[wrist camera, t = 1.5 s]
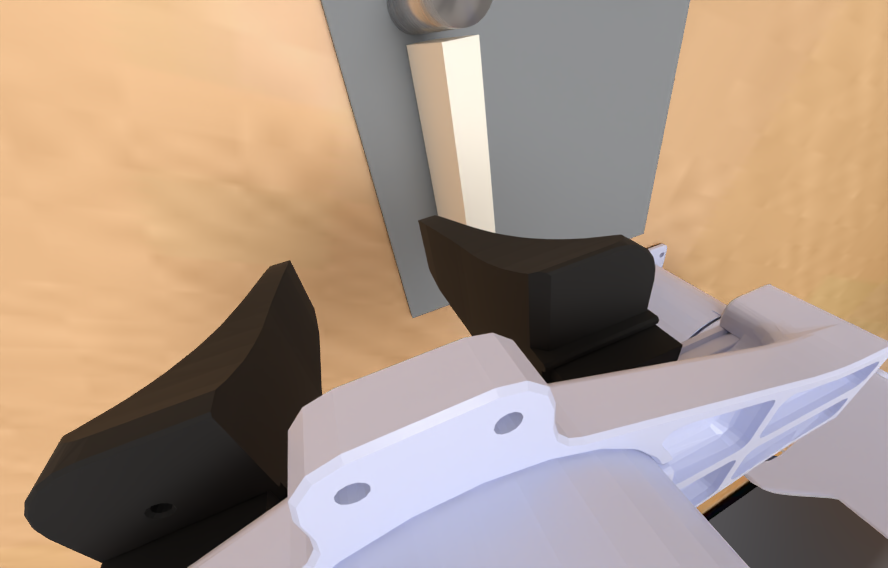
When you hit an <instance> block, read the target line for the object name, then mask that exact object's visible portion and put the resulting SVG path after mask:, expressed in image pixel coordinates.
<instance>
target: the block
mask: <svg viewBox="0 0 888 568" xmlns="http://www.w3.org/2000/svg"><path fill="white" fill-rule="evenodd" d="M406 46H407V51H408V57H409V62H410V67H411V73H412V78H413V84H414V89H415V94H416V100H417V105H418V110H419V116H420V121H421V127H422V132H423V137H424V143H425V148H426V153H427V159H428V164H429V169H430V175H431V180H432V186H433V191H434V196H435V202H436V207H437V212H438V216H441V217H444V218H447V219H450V220H453V221H456V222H459V223H462V224H465V225H468V226H471V227H474V228H478V229H481V230H485V231H489V232H493V233H495V221H494V209H493V197H492V185H491V173H490V161H489V149H488V136H487V124H486V112H485V100H484V88H483V76H482V64H481V52H480V40H479V35H470V36H460V37H450V38H440V39H433V40H428V41H423V42H418V43H414V44H409V45H406Z"/></svg>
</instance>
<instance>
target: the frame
mask: <svg viewBox="0 0 888 568" xmlns="http://www.w3.org/2000/svg"><path fill="white" fill-rule="evenodd" d="M492 1H493V0H387V8H388V12H389V15H390V17H391V19H392V21H393V23H394V24H395V25H396V27H397V28H398V29H399V30H401V31H402V32H404V33H406V34H409V35H419V34H426V33H433V32H440V31H446V30H453V29H460V28H467V27H470V26H473V25H475V24H476V23H478V22H479V21H480V20H481V19H482V18H483V17H484V16H485V15H486V13H487V12H488V10H489V8H490V6H491V3H492Z"/></svg>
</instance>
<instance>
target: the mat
mask: <svg viewBox="0 0 888 568" xmlns="http://www.w3.org/2000/svg"><path fill="white" fill-rule="evenodd" d="M321 3H322V7H323V10H324V14H325V17H326V20H327V24H328V27H329V31H330V34H331V38H332V41H333V45H334V48H335V52H336V55H337V59H338V62H339V66H340V69H341V73H342V76H343V79H344V83H345V86H346V90H347V93H348V97H349V100H350V104H351V107H352V111H353V114H354V118H355V121H356V125H357V128H358V132H359V135H360V138H361V142H362V145H363V149H364V152H365V156H366V159H367V163H368V166H369V170H370V173H371V177H372V180H373V184H374V187H375V190H376V194H377V197H378V201H379V204H380V208H381V211H382V215H383V218H384V222H385V225H386V229H387V232H388V236H389V239H390V243H391V246H392V249H393V253H394V256H395V260H396V263H397V267H398V270H399V274H400V277H401V281H402V284H403V288H404V291H405V295H406V298H407V302H408V305H409V308H410V312H411V315H412V317H413V318H415V317H417V316H420V315H423V314H425V313H428V312H431V311H434V310H436V309H439V308H442V307H445V306H447V305H450V304H449V303H448V301H447V300H446V298H445V297H444V296H443V294H442V293H441V291H440V290H439V288H438V286H437V284H436V282H435V280H434V278H433V276H432V274H431V272H430V270H429V267H428V262H427V258H426V253H425V249H424V245H423V240H422V236H421V231H420V227H419V222H418V220H421V219H424V218H427V217H431V216H434V215H436V216H438V212H437V207H436V202H435V196H434V191H433V186H432V180H431V175H430V169H429V164H428V159H427V153H426V148H425V143H424V137H423V132H422V127H421V121H420V116H419V110H418V105H417V100H416V94H415V89H414V84H413V78H412V73H411V67H410V62H409V57H408V51H407V46H406V45H409V44H414V43H418V42H423V41H428V40H433V39H440V38H450V37H460V36H470V35H479V40H480V52H481V64H482V76H483V88H484V100H485V112H486V124H487V136H488V149H489V161H490V173H491V185H492V197H493V209H494V221H495V233H498V234H503V235H509V236H516V237H524V238H537V239H580V238H592V237H601V236H610V235H620V234H621V235H623V236H625V237H627V238H629V239H630V238H633V237H636V236H638V235H641V234H644V229H645V224H646V219H647V214H648V209H649V204H650V199H651V194H652V189H653V184H654V179H655V174H656V169H657V164H658V159H659V154H660V149H661V144H662V139H663V134H664V129H665V124H666V119H667V114H668V109H669V104H670V99H671V94H672V89H673V83H674V78H675V73H676V68H677V63H678V58H679V53H680V48H681V43H682V38H683V33H684V28H685V23H686V18H687V13H688V8H689V3H690V0H493V1H492V3H491V6H490V8H489V10H488V12H487V13H486V15H485V16H484V17H483V18H482V19H481V20H480V21H479V22H478V23H476V24H475V25H473V26H470V27H467V28H460V29H453V30H446V31H440V32H433V33H426V34H419V35H409V34H406V33H404V32H402V31H401V30H399V29H398V28H397V27H396V25H395V24H394V23H393V21H392V19H391V17H390V15H389V12H388V8H387V0H321Z"/></svg>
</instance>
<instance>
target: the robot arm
mask: <svg viewBox="0 0 888 568" xmlns="http://www.w3.org/2000/svg"><path fill="white" fill-rule="evenodd" d="M418 222H419V227H420V231H421V236H422V240H423V245H424V249H425V253H426V258H427V262H428V267H429V270H430V272H431V274H432V276H433V278H434V280H435V282H436V284H437V286H438V288H439V290H440V291H441V293H442V294H443V296H444V297H445V298H446V300H447V301H448V303H449V304H450V306H451V307H452V308H453V310H454V311H455V312H456V314H457V315H458V317H459V318H460V319H461V321H462V322H463V324H464V325H465V326H466V328H467V329H468V331H469V332H470V334H471V335H472V336H471V337H465V338H462V339H459V340H457V341H454V342H452V343H449V344H446V345H444V346H441V347H439V348H436V349H434V350H431V351H428V352H426V353H423V354H421V355H418V356H416V357H413V358H410V359H408V360H405V361H403V362H400V363H398V364H395V365H392V366H390V367H387V368H385V369H382V370H380V371H377V372H374V373H372V374H369V375H367V376H364V377H362V378H359V379H356V380H354V381H351V382H349V383H346V384H344V385H341V386H338V387H336V388H333V389H332V390H330V391H328V392H327V393H325V394H323V395H322V388H321V363H320V339H319V330H318V324H317V319H316V315H315V310H314V307H313V305H312V303H311V301H310V299H309V297H308V295H307V293H306V291H305V289H304V287H303V285H302V283H301V281H300V279H299V277H298V275H297V273H296V271H295V269H294V267H293V265H292V263H291V261H290V260H289V261H286V262H283V263H280V264H276V265H273V266H270V267H269V268H268V269H267V270H266V272H265V273H264V274H263V275H262V277H261V278H260V279H259V281H258V282H257V283H256V285H255V286H254V287H253V288H252V290H251V291H250V292H249V293H248V295H247V296H246V297H245V299H244V300H243V301H242V302H241V303H240V304H239V306H238V307H237V308H236V309H235V310H234V311H233V312H232V314H231V315H230V316H229V317H228V318H227V319H226V320H225V322H224V323H223V324H222V325H221V326H220V327H219V328H218V329H217V330H216V331H215V332H214V333H213V334H212V335H210V336H209V337H208V338H207V339H206V340H205V341H204V342H203V343H202V344H201V345H200V346H198V347H197V348H196V349H195V350H194V351H192V352H191V353H190V354H189V355H187V356H186V357H185V358H184V359H182V360H181V361H180V362H178V363H177V364H176V365H175V366H173V367H172V368H171V369H170V370H168V371H167V372H166V373H164V374H163V375H162V376H160V377H159V378H157V379H156V380H154V381H153V382H152V383H150V384H149V385H147V386H146V387H144V388H143V389H141V390H140V391H138V392H137V393H135V394H134V395H132V396H131V397H129V398H127V399H126V400H124V401H123V402H121V403H120V404H118V405H116V406H115V407H113V408H111V409H110V410H108V411H106V412H104V413H103V414H101V415H99V416H98V417H96V418H94V419H92V420H91V421H89V422H87V423H86V424H84V425H82V426H80V427H79V428H77V429H75V430H73V431H72V432H70V433H68V434H66V435H64V436H63V437H62V439H61V440H60V442H59V444H58V445H57V447H56V449H55V451H54V452H53V454H52V456H51V457H50V459H49V461H48V463H47V464H46V466H45V468H44V470H43V471H42V473H41V475H40V476H39V478H38V480H37V482H36V483H35V485H34V487H33V488H32V490H31V492H30V494H29V495H28V497H27V499H26V500H25V510H24V516H25V517H26V519H27V520H28V522H29V524H30V525H31V527H32V528H33V529H34V530H35V531H37V532H38V533H40V534H42V535H43V536H45V537H46V538H48V539H50V540H52V541H54V542H56V543H59V544H61V545H63V546H65V547H67V548H70V549H72V550H74V551H76V552H79V553H81V554H83V555H85V556H88V557H90V558H92V559H94V560H97V561H99V562H101V563H102V565H101V568H749V567H748V565H747V564H746V563H745V562H744V561H743V560H742V559H741V558H740V556H739V555H738V554H737V553H736V552H735V551H734V550H733V549H732V547H731V546H730V545H729V544H728V543H727V542H726V541H725V540H724V539H723V538H722V536H721V535H720V534H719V533H718V532H717V531H716V530H715V529H714V527H713V526H712V525H711V524H710V523H709V522H708V521H707V519H706V518H705V517H704V516H703V515H702V514H701V513H700V512H699V511H698V509H697V508H696V507H697V506H699V505H700V504H702V503H703V502H705V501H706V500H708V499H709V498H711V497H712V496H714V495H715V494H716V493H718V492H719V491H721V490H722V489H724V488H725V487H727V486H728V485H730V484H731V483H733V482H734V481H736V480H737V479H739V478H740V477H742V476H743V475H744V476H745V477H746V478H747V479H748V480H750V481H751V482H752V483H753V484H755V485H757V486H759V487H760V488H762V489H764V490H767V491H770V492H773V493H778V494H784V495H794V496H808V497H822V498H833V499H838V500H840V501H841V502H842V503H844V504H845V505H846V506H847V507H849V508H850V509H851V510H852V511H854V512H855V513H856V514H857V515H859V516H860V517H861V518H862V519H864V520H865V521H866V522H867V523H869V524H870V525H871V526H872V527H874V528H875V529H876V530H877V531H879V532H880V533H881V534H882V535H884V536H885V537H886V538H887V539H888V373H887V372H885V371H883V370H881V369H879V367H880V366H881V365H882V364H883V363H884V362H885V360H886V359H887V358H888V341H886V340H884V339H882V338H880V337H878V336H876V335H874V334H872V333H870V332H868V331H866V330H863V329H861V328H859V327H857V326H855V325H853V324H851V323H849V322H847V321H845V320H843V319H841V318H839V317H836V316H834V315H832V314H830V313H828V312H826V311H824V310H822V309H820V308H818V307H816V306H814V305H812V304H809V303H807V302H805V301H803V300H801V299H799V298H797V297H795V296H793V295H791V294H789V293H787V292H785V291H782V290H780V289H778V288H776V287H774V286H772V285H770V284H769V285H764V286H762V287H759V288H757V289H755V290H753V291H750V292H748V293H746V294H743V295H741V296H739V297H737V298H735V299H734V300H732V301H731V302H730V303H729V304H728V305H726V304H724V303H722V302H721V301H719V300H717V299H715V298H714V297H712V296H710V295H708V294H707V293H705V292H703V291H701V290H700V289H698V288H696V287H694V286H693V285H691V284H689V283H688V282H686V281H684V280H682V279H681V278H679V277H677V276H675V275H674V274H672V273H670V272H668V271H667V270H665V269H663V268H662V267H663V263H664V259H665V255H666V251H667V246H666V245H664V244H660V245H657V246H654V247H652V248H649V249H646V248H645V247H643V246H641V245H639V244H637V243H636V242H634V241H632V240H630V239H629V238H627V237H625V236H623V235H621V234H620V235H610V236H601V237H592V238H580V239H537V238H524V237H516V236H509V235H503V234H498V233H493V232H489V231H485V230H481V229H478V228H474V227H471V226H468V225H465V224H462V223H459V222H456V221H453V220H450V219H447V218H444V217H441V216H436V215H434V216H431V217H427V218H424V219H421V220H418ZM798 439H799V440H798ZM797 440H798V441H797ZM795 441H796V442H795ZM793 442H795V443H794V444H793V445H792V446H790V447H789V448H788V449H787V450H786V451H785V452H783V453H782V454H781V455H780V456H773V455H775V454H776V453H778V452H779V451H781V450H782V449H784V448H785V447H787V446H789V445H790V444H792V443H793Z"/></svg>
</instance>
